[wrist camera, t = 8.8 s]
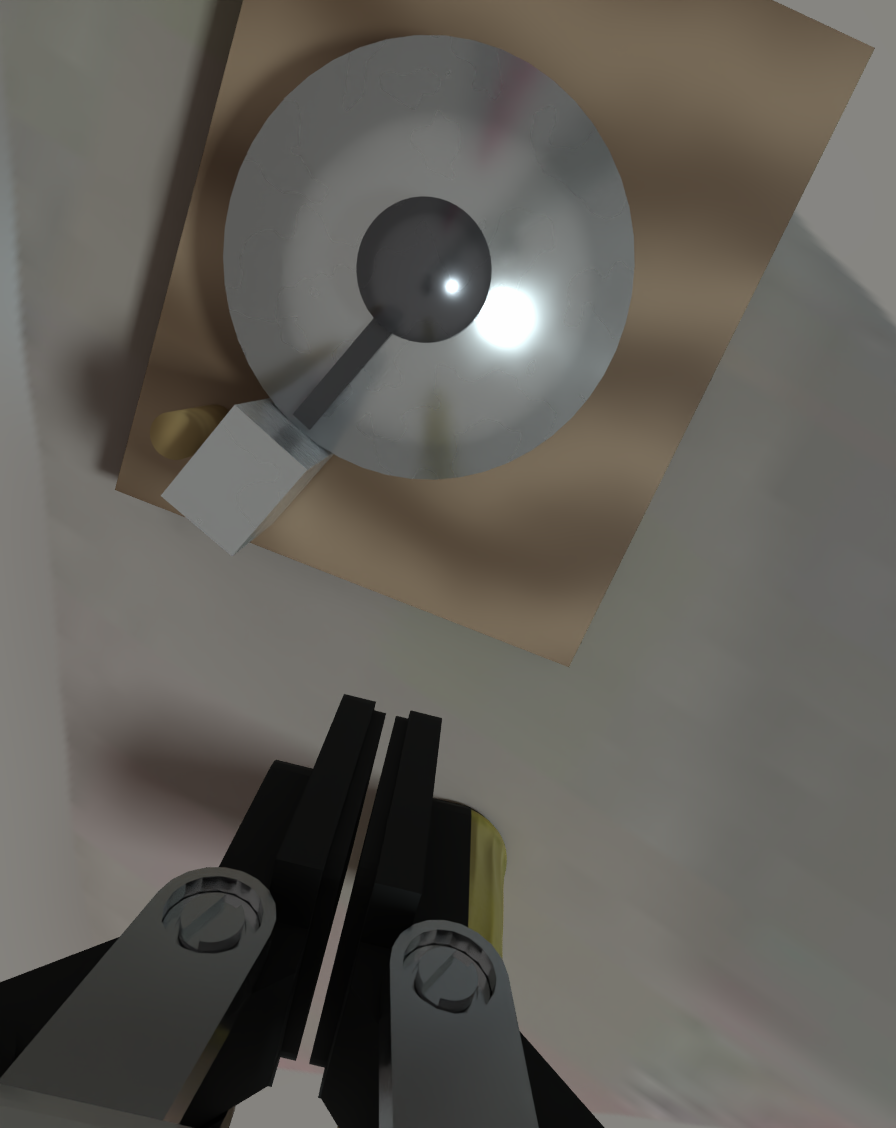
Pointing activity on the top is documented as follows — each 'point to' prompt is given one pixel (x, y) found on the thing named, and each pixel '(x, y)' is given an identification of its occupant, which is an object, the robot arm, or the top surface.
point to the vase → (486, 881)
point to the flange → (412, 277)
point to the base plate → (655, 317)
